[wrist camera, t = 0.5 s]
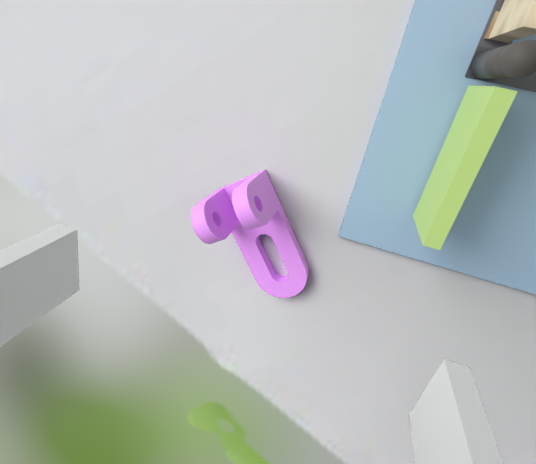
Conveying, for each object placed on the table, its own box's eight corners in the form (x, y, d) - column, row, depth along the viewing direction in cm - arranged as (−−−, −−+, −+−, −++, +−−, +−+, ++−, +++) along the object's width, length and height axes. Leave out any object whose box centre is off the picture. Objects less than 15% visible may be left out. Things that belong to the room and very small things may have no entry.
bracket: (217, 188, 35) (184, 212, 28) (265, 168, 32) (241, 189, 26) (270, 295, 38) (251, 336, 32) (317, 283, 36) (306, 325, 30)
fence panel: (468, 85, 25) (495, 86, 19) (485, 89, 25) (517, 91, 19) (412, 215, 29) (422, 245, 24) (427, 219, 29) (440, 250, 24)
